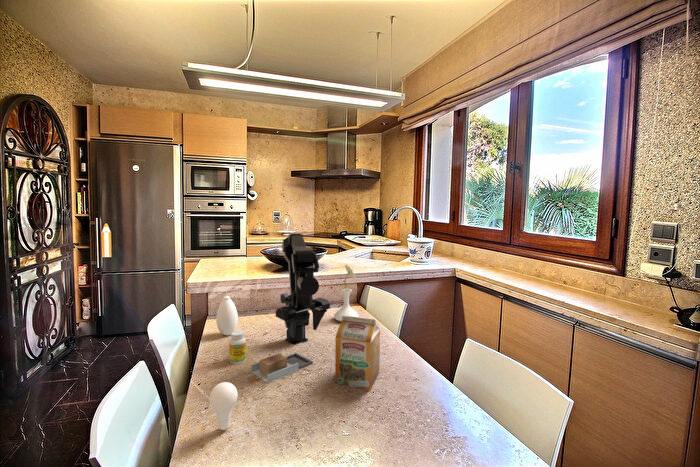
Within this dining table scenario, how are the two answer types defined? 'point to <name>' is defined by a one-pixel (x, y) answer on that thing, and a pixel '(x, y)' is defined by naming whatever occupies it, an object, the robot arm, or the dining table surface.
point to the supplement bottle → (237, 347)
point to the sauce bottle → (227, 316)
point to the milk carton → (357, 352)
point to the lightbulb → (223, 402)
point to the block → (272, 364)
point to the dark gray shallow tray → (299, 360)
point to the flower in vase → (346, 300)
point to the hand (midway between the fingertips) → (304, 333)
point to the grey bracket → (275, 375)
